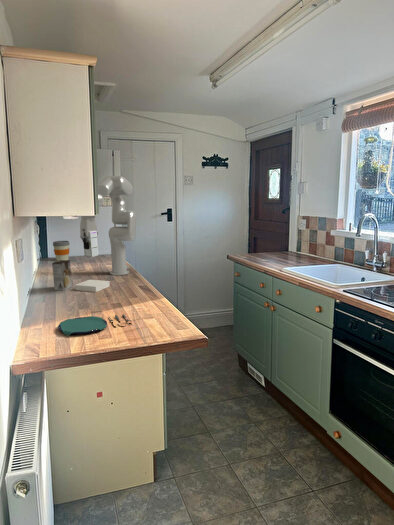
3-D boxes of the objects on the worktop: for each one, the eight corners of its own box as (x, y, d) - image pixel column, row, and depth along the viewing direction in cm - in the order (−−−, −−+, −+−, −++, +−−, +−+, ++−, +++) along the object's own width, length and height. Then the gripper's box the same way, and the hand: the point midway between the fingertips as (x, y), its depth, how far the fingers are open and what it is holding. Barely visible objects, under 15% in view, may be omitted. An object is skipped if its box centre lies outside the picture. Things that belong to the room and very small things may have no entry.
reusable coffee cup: (53, 262, 325) (51, 243, 322) (55, 259, 337) (53, 241, 334) (69, 261, 327) (68, 242, 324) (71, 258, 339) (69, 240, 336)
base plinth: (89, 284, 249) (89, 279, 248) (109, 286, 244) (109, 281, 244) (75, 290, 236) (74, 284, 235) (96, 291, 231) (95, 286, 231)
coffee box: (62, 286, 245) (60, 259, 242) (72, 286, 244) (70, 260, 241) (54, 290, 236) (51, 262, 233) (64, 290, 235) (62, 263, 232)
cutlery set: (55, 324, 178) (55, 319, 178) (124, 316, 190) (124, 311, 190) (60, 340, 161) (60, 334, 160) (136, 329, 173) (135, 324, 172)
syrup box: (98, 255, 237) (97, 230, 235) (91, 257, 232) (90, 231, 230) (91, 254, 240) (89, 229, 237) (84, 256, 235) (82, 230, 232)
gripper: (91, 215, 242) (93, 245, 245) (73, 217, 226) (75, 250, 229) (102, 215, 239) (104, 246, 242) (84, 217, 223) (86, 250, 226)
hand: (90, 247), depth 236 cm, fingers closed on syrup box, 6 cm apart
